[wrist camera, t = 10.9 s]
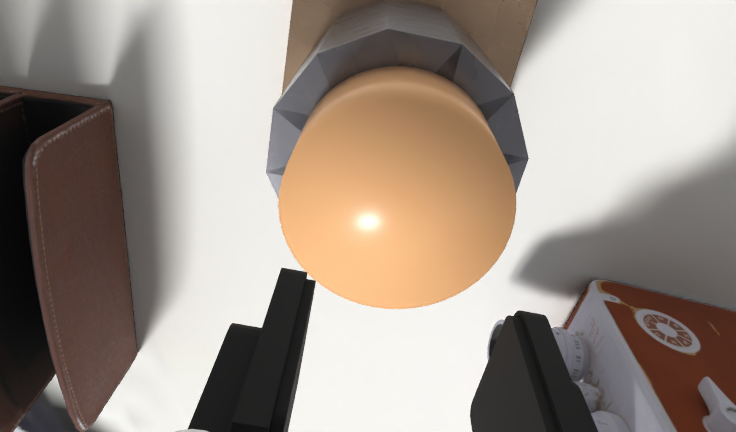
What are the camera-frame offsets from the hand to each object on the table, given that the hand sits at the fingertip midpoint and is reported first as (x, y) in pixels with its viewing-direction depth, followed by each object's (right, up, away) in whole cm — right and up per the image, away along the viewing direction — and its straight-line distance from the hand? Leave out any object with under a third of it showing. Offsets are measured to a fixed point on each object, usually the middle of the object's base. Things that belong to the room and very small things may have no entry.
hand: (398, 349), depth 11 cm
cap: (0, +6, +12) cm, 13 cm away
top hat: (+1, +10, +19) cm, 21 cm away
